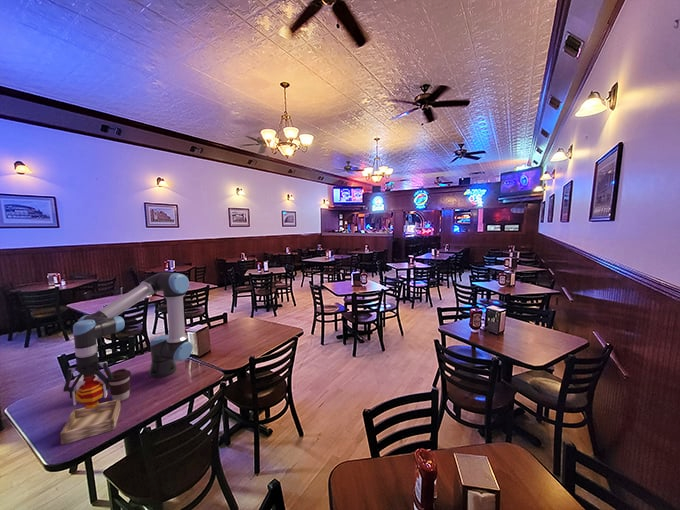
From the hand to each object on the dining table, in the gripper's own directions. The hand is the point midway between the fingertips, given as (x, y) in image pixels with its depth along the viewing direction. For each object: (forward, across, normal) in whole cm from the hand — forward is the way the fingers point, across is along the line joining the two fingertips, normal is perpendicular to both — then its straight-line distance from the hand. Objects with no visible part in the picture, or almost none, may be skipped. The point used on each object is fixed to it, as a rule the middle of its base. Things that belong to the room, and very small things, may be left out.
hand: (91, 399), depth 131 cm
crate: (+13, 0, 0) cm, 13 cm away
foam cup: (+13, +7, -27) cm, 31 cm away
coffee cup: (+13, -8, -19) cm, 24 cm away
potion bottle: (+3, 0, 0) cm, 3 cm away
